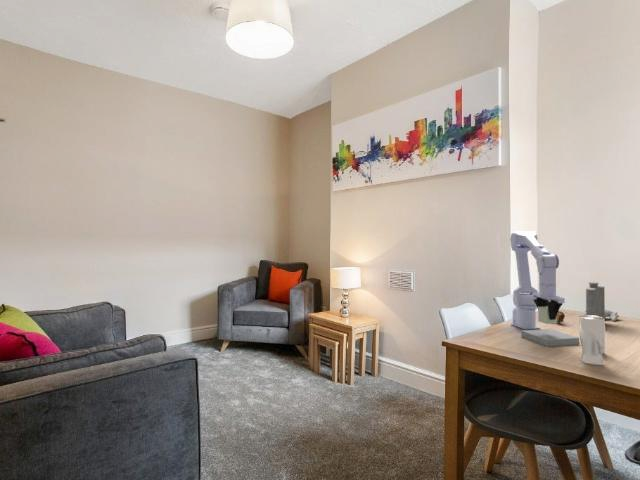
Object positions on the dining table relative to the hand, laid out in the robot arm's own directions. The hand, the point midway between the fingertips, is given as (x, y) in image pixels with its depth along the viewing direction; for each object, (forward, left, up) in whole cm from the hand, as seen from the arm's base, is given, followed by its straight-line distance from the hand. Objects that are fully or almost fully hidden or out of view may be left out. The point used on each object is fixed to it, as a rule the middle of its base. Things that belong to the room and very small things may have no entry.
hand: (547, 318), depth 146 cm
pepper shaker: (+17, +4, -9) cm, 20 cm away
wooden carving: (-28, +27, -9) cm, 40 cm away
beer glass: (+25, -6, -9) cm, 27 cm away
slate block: (0, 0, -9) cm, 9 cm away
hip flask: (-17, +40, -9) cm, 44 cm away
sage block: (0, 0, -2) cm, 2 cm away
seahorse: (-25, +50, -9) cm, 57 cm away
